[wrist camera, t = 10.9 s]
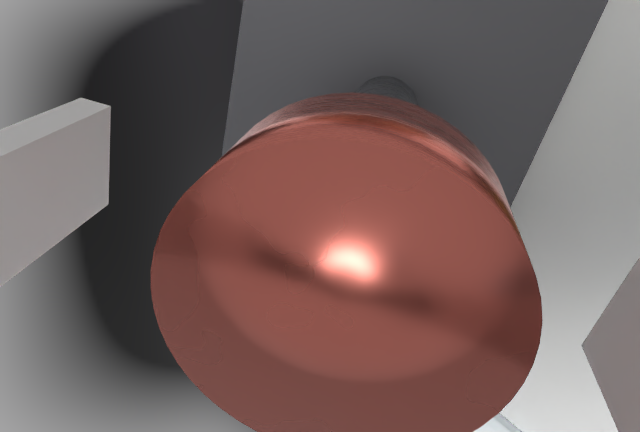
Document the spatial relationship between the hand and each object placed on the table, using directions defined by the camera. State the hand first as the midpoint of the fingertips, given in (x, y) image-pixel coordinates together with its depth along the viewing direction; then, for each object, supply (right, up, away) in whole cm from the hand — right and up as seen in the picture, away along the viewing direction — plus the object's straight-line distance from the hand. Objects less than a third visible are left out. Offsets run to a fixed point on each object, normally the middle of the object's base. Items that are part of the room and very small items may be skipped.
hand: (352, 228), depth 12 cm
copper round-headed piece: (+2, +5, +10) cm, 11 cm away
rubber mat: (+2, +5, +11) cm, 12 cm away
